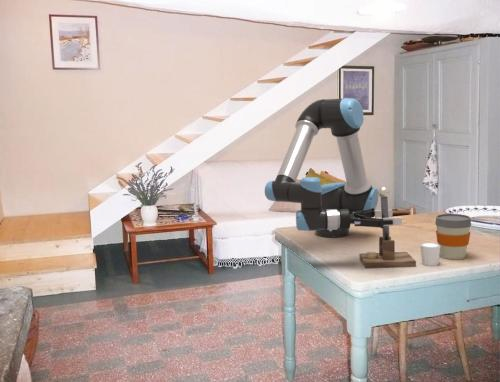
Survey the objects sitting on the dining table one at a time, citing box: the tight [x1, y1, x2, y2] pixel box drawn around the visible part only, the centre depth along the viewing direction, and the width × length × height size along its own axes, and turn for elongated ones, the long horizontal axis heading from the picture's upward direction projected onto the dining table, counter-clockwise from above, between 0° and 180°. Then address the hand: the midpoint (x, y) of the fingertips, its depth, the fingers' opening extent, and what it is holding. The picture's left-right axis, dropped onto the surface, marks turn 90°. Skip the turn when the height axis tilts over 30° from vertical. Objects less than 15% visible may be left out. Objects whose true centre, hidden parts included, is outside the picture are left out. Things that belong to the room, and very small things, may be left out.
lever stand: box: [358, 235, 417, 269], centre depth 194 cm, size 12×18×9 cm, turn 89°
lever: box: [378, 186, 391, 246], centre depth 192 cm, size 4×4×24 cm
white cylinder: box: [420, 242, 440, 267], centre depth 191 cm, size 7×7×7 cm
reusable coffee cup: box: [435, 213, 472, 260], centre depth 198 cm, size 12×12×15 cm
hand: (396, 217), depth 192 cm, fingers open, 13 cm apart
